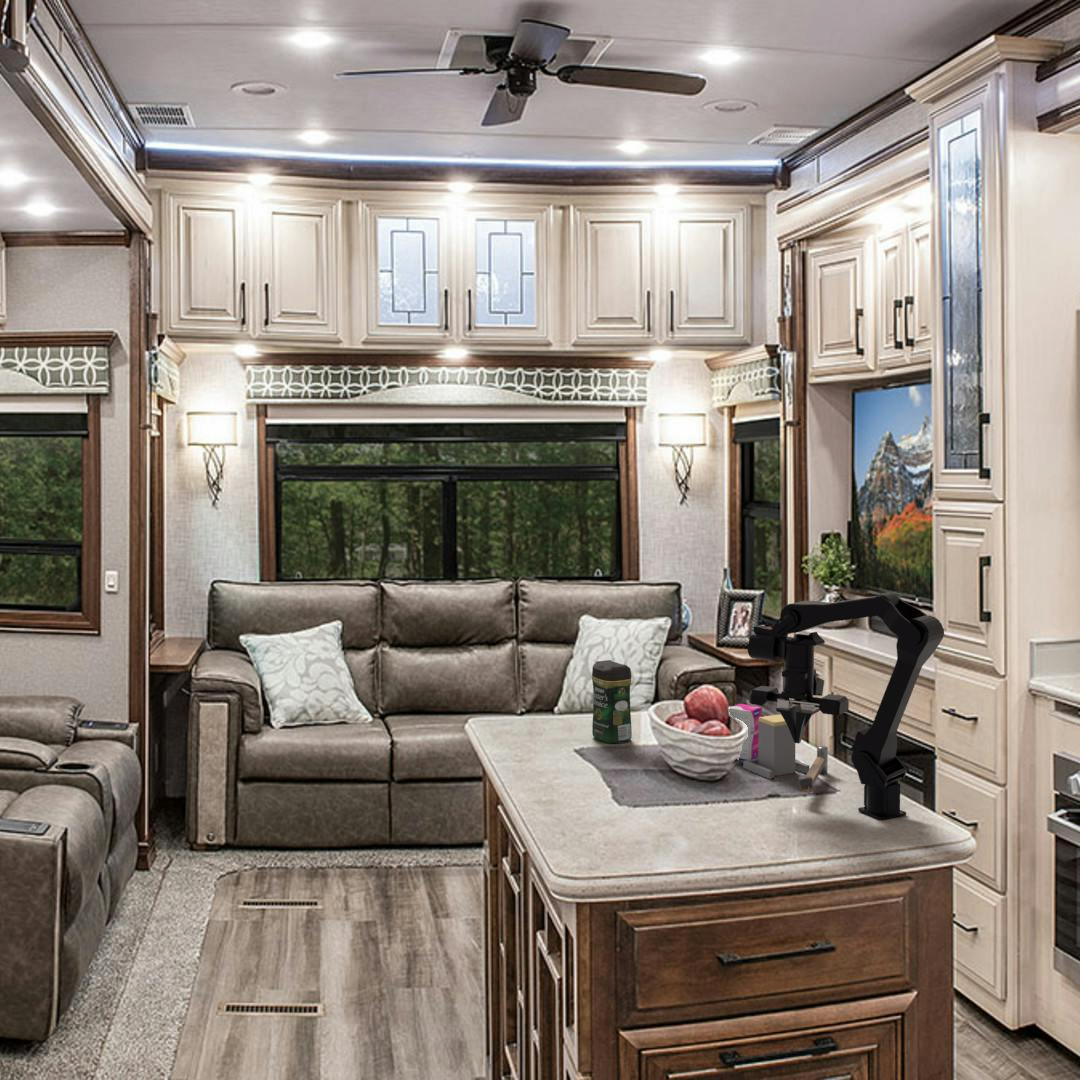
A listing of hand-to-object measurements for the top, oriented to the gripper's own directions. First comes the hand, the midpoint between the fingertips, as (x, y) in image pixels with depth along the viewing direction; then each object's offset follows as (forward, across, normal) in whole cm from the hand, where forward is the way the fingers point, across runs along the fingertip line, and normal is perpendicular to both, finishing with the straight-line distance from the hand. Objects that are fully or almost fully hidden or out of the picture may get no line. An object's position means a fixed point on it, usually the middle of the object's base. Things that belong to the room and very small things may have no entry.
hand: (797, 742), depth 245 cm
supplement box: (+11, +20, -20) cm, 31 cm away
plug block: (+11, +10, -14) cm, 20 cm away
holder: (+11, +10, -14) cm, 20 cm away
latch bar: (+8, -1, -5) cm, 10 cm away
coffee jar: (+11, +54, -19) cm, 58 cm away
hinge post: (+11, +1, -18) cm, 21 cm away
